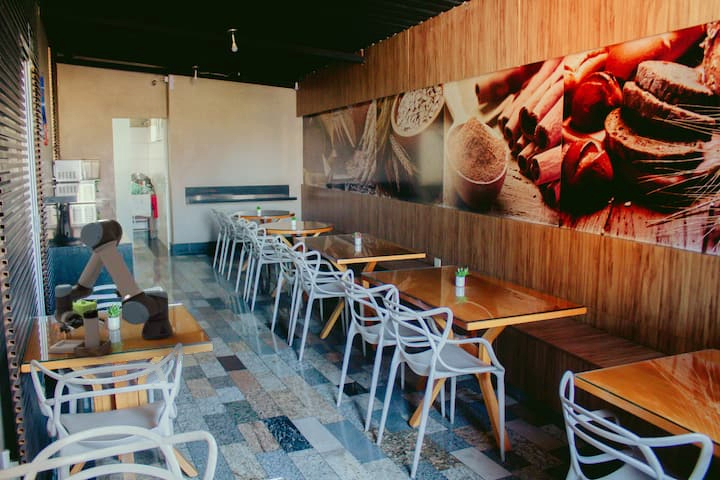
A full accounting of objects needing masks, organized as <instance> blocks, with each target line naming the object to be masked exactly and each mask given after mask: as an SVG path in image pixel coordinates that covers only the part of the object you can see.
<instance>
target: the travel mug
mask: <svg viewBox="0 0 720 480" xmlns="http://www.w3.org/2000/svg"><path fill="white" fill-rule="evenodd" d="M98 318H99V309H97V310H90V311H86V312H84V313H83V319H84V326H83V331H84V333H83V334H84V340H85V347H100V340H101V339H100V327H99V319H98Z"/></svg>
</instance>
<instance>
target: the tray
mask: <svg viewBox="0 0 720 480" xmlns="http://www.w3.org/2000/svg"><path fill="white" fill-rule="evenodd" d="M83 341H85V339H61V340H60V341H58V342H56V343H55V344H53V345H52V346H50V347H49V350H48V351H49V354H74V347H76V346H77V345H79V344H80V343H82V342H83Z"/></svg>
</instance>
